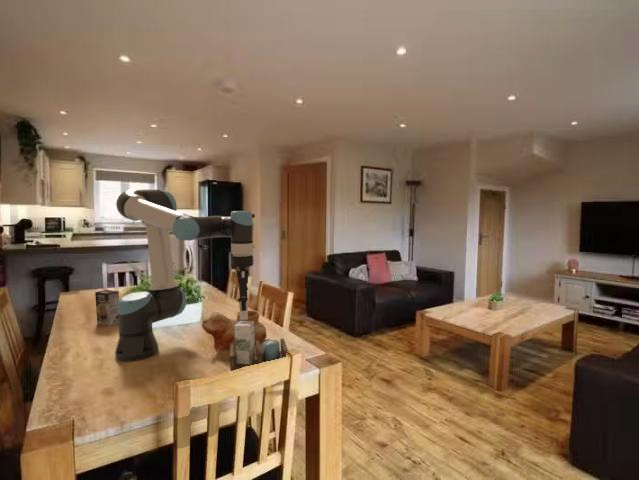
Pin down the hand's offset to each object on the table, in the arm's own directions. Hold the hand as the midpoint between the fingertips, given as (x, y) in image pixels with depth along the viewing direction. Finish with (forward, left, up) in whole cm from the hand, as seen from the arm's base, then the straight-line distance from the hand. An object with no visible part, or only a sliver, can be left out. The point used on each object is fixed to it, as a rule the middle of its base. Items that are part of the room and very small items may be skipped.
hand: (243, 313), depth 130 cm
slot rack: (+5, 0, -19) cm, 20 cm away
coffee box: (-65, +66, -19) cm, 94 cm away
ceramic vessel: (-3, +20, -19) cm, 28 cm away
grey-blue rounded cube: (+10, 0, -18) cm, 20 cm away
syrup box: (0, -1, -18) cm, 18 cm away
